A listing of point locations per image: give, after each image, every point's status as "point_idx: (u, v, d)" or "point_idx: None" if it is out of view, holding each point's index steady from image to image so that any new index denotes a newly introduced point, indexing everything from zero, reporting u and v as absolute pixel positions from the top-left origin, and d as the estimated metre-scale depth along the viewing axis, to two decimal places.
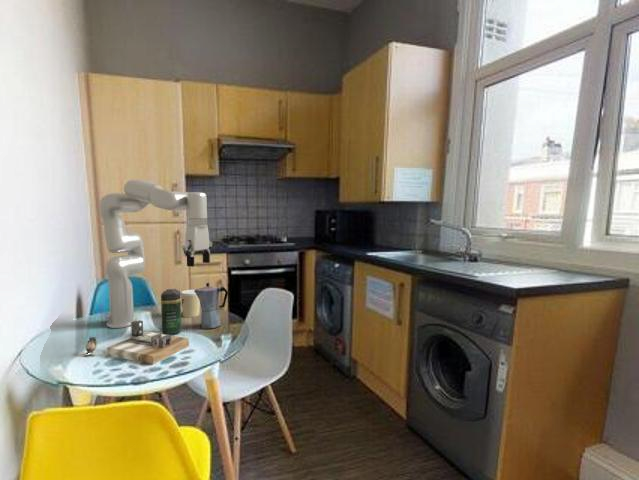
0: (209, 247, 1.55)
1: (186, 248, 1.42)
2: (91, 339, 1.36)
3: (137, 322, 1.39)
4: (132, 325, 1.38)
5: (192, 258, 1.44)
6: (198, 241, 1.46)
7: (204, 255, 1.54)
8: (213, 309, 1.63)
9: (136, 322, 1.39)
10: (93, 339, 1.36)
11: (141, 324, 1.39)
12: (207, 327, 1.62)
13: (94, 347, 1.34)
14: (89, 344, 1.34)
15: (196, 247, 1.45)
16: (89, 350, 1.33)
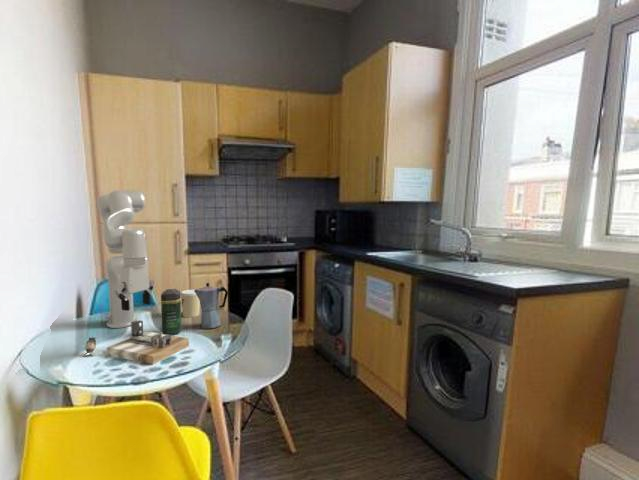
0: (150, 287, 1.44)
1: (119, 291, 1.31)
2: (90, 339, 1.36)
3: (137, 322, 1.39)
4: (132, 325, 1.38)
5: (127, 301, 1.33)
6: (134, 283, 1.35)
7: (144, 296, 1.43)
8: (213, 309, 1.63)
9: (136, 322, 1.39)
10: (92, 339, 1.36)
11: (141, 324, 1.39)
12: (207, 327, 1.62)
13: (93, 347, 1.34)
14: (88, 344, 1.34)
15: (131, 289, 1.34)
16: (89, 350, 1.33)
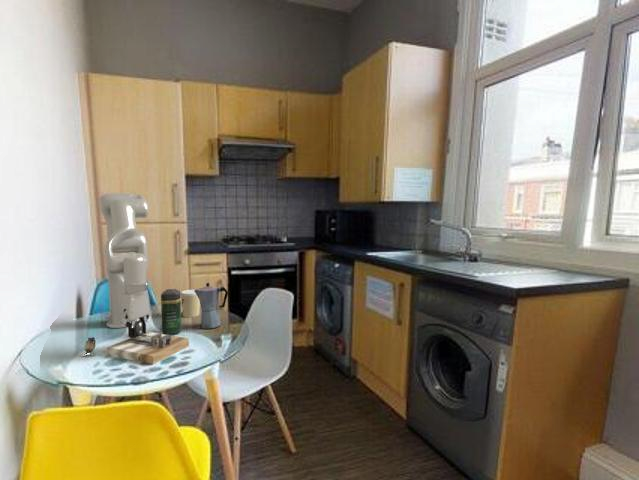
0: (146, 316, 1.43)
1: (125, 322, 1.34)
2: (90, 339, 1.35)
3: (137, 322, 1.39)
4: None
5: (133, 329, 1.37)
6: (135, 309, 1.36)
7: None
8: (213, 309, 1.63)
9: (136, 322, 1.39)
10: (92, 339, 1.36)
11: (141, 324, 1.39)
12: (207, 327, 1.62)
13: (93, 347, 1.34)
14: (88, 344, 1.33)
15: (132, 316, 1.35)
16: (88, 350, 1.33)
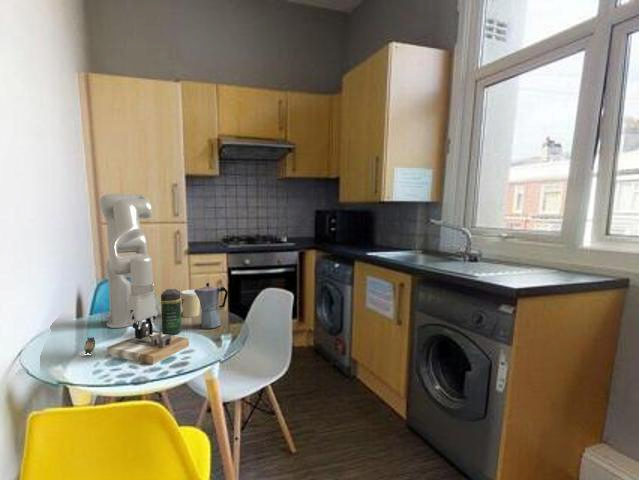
0: (152, 317, 1.42)
1: (131, 323, 1.33)
2: (89, 339, 1.35)
3: (144, 323, 1.38)
4: None
5: (140, 330, 1.36)
6: (142, 310, 1.35)
7: None
8: (213, 309, 1.63)
9: (143, 323, 1.38)
10: (91, 339, 1.36)
11: (148, 325, 1.38)
12: (207, 327, 1.62)
13: (93, 347, 1.34)
14: (88, 344, 1.33)
15: (139, 317, 1.34)
16: (88, 350, 1.33)
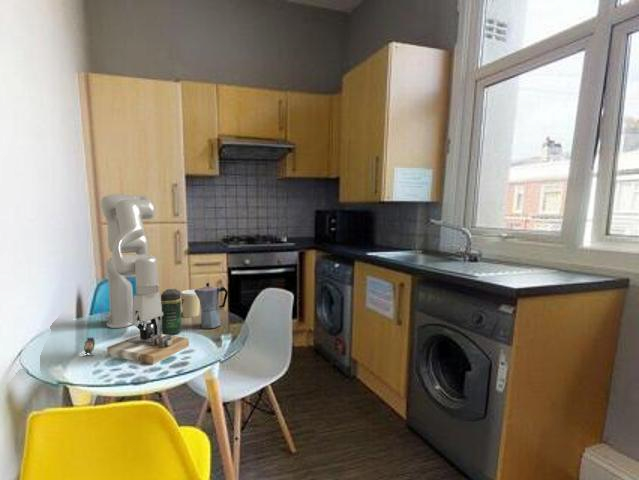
0: None
1: (137, 324, 1.32)
2: (89, 339, 1.35)
3: (149, 324, 1.37)
4: None
5: (145, 331, 1.35)
6: (147, 311, 1.34)
7: None
8: (213, 309, 1.63)
9: (148, 324, 1.37)
10: (91, 339, 1.35)
11: (153, 326, 1.37)
12: (207, 327, 1.62)
13: (92, 347, 1.34)
14: (87, 344, 1.33)
15: (144, 318, 1.33)
16: (87, 350, 1.33)
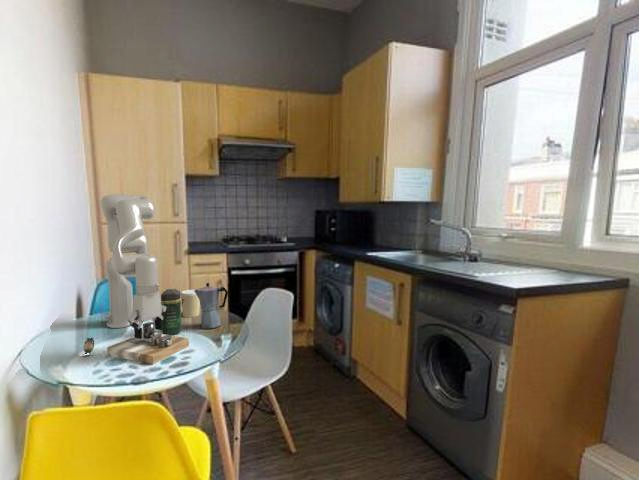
0: (162, 312, 1.43)
1: (132, 320, 1.30)
2: (88, 339, 1.35)
3: (149, 324, 1.37)
4: (144, 327, 1.36)
5: (139, 330, 1.32)
6: (147, 310, 1.34)
7: (156, 322, 1.42)
8: (213, 309, 1.63)
9: (148, 324, 1.37)
10: (91, 339, 1.35)
11: (153, 326, 1.37)
12: (207, 327, 1.62)
13: (92, 347, 1.34)
14: (87, 344, 1.33)
15: (144, 317, 1.33)
16: (87, 350, 1.33)
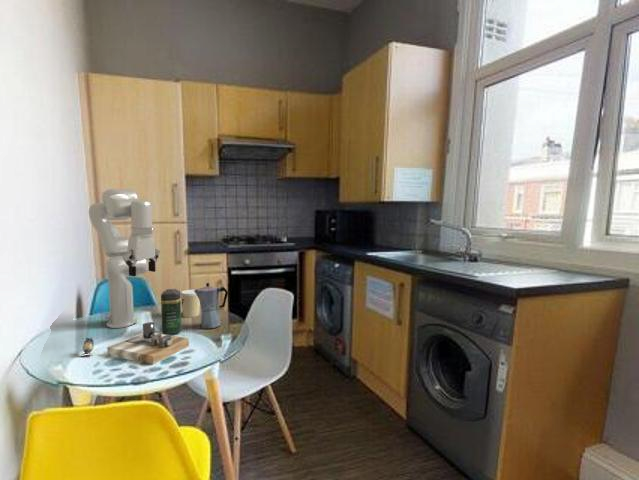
0: (155, 255, 1.53)
1: (127, 258, 1.40)
2: (88, 340, 1.35)
3: (149, 324, 1.37)
4: (144, 327, 1.36)
5: (134, 268, 1.42)
6: (141, 251, 1.44)
7: (150, 264, 1.52)
8: (213, 309, 1.63)
9: (148, 324, 1.37)
10: (90, 340, 1.35)
11: (153, 326, 1.37)
12: (207, 327, 1.62)
13: (91, 347, 1.34)
14: (86, 345, 1.33)
15: (138, 257, 1.43)
16: (87, 351, 1.33)
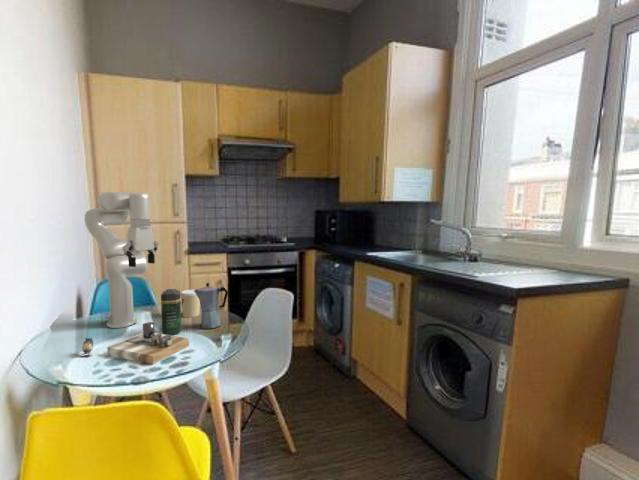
0: (154, 248, 1.56)
1: (126, 249, 1.43)
2: (87, 340, 1.35)
3: (149, 324, 1.37)
4: (144, 327, 1.36)
5: (133, 259, 1.45)
6: (140, 242, 1.47)
7: (149, 256, 1.55)
8: (213, 309, 1.63)
9: (148, 324, 1.37)
10: (89, 340, 1.35)
11: (153, 326, 1.37)
12: (207, 327, 1.62)
13: (91, 348, 1.34)
14: (86, 345, 1.33)
15: (138, 248, 1.46)
16: (86, 351, 1.32)
